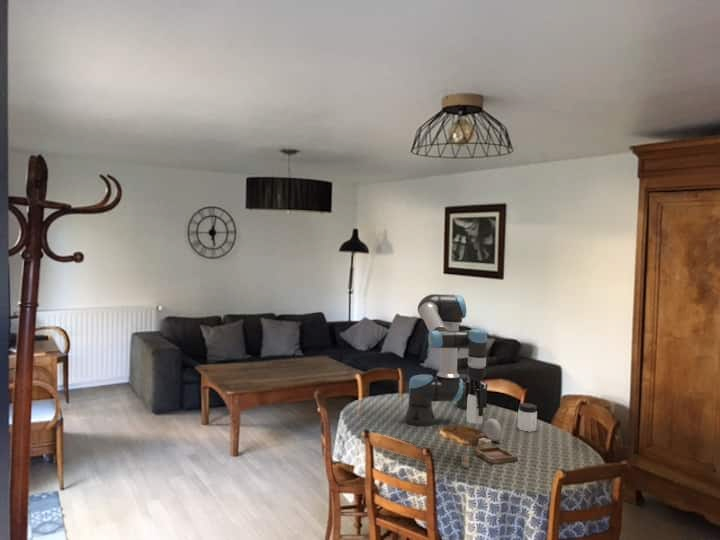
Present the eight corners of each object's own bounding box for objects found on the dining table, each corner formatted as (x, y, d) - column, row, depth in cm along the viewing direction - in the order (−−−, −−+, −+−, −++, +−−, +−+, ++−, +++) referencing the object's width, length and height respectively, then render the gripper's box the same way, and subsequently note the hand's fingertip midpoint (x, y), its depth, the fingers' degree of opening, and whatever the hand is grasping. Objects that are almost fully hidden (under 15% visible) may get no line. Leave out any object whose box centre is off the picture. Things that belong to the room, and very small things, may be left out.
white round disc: (502, 443, 256) (503, 421, 256) (496, 444, 255) (497, 422, 254) (488, 436, 265) (489, 415, 265) (482, 437, 264) (483, 416, 263)
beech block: (478, 448, 249) (478, 439, 249) (483, 446, 252) (483, 437, 251) (485, 451, 246) (486, 442, 246) (491, 449, 249) (491, 440, 248)
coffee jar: (477, 408, 313) (478, 375, 312) (466, 410, 308) (468, 377, 308) (464, 404, 321) (465, 372, 320) (454, 406, 316) (455, 373, 315)
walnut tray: (473, 453, 242) (473, 449, 242) (498, 450, 247) (498, 446, 247) (491, 464, 230) (491, 459, 230) (517, 461, 235) (517, 456, 235)
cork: (459, 465, 228) (459, 454, 228) (466, 464, 229) (466, 453, 229) (463, 468, 225) (464, 457, 225) (470, 467, 226) (471, 456, 226)
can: (464, 419, 241) (465, 391, 241) (479, 419, 242) (480, 391, 241) (468, 424, 235) (469, 395, 234) (483, 424, 235) (485, 395, 235)
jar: (527, 433, 273) (528, 408, 272) (514, 428, 280) (515, 404, 279) (539, 430, 278) (540, 406, 277) (526, 425, 285) (527, 402, 284)
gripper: (456, 362, 245) (454, 415, 246) (481, 371, 227) (479, 428, 228) (471, 361, 248) (469, 413, 248) (497, 370, 230) (495, 427, 230)
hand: (474, 420), depth 238 cm, fingers closed on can, 6 cm apart
